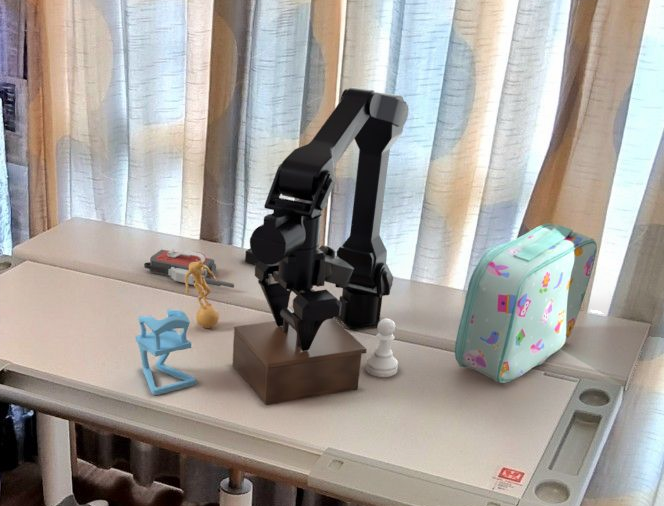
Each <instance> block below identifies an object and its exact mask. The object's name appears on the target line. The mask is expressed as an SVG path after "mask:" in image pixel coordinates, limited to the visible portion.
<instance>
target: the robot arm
mask: <svg viewBox="0 0 664 506" xmlns="http://www.w3.org/2000/svg"><path fill="white" fill-rule="evenodd" d="M408 117H409V105H408V103H407V101H405V99H404V97H403V96H402V95H401V94H395V93H393V94H392V93H386V92H378V91H375V90H374V89H368V88H361V87H353V86H352V87H349V88H345V89H343V91H342V94H341V96H340V100H339V103H338V104H337V105H336V106H335V108H334V109H333V110H332V112H331V114H329V116H328V117H327V119H325V121H324V123H323V124H322V126H321V127H320V128H319V130H318V131H317V133H316V134H315V136H313V138H312V139H311V141H309V143H307V144H305V145H302V146H300V147H297V148H295V149H293V150H292V151H291V152H290V153H289V154H288V156H286V157H285V158H284V160H282V162H281V163H280V164H279V165H278V167H277V170H276V173H275V175H274V178H273V180H272V183H271V186H270V189H269V191H268V194H267V197H266V200H265V203H264V205H263V206H264V207H263V208H264V209H266V210H271V211H273V212H272V213H270V214H267V215H265V216H263V224H261V225H259V226H257V227H256V228H255V229H254V230H253V232H252V233H251V236H250V238H249V249H250V248H251V251H252V253H253V255H254V256H255V257H256V258H257V259H258V260H259V262H258V263H257V264H256V265H255V264H254V277H255V278H256V279H257V283H258V285H259V287H260V288H261V291H262V293H263V295H264V297H265V300H266V302H267V305H268V307H269V309H270V312H271V314H272V317H273V319H274V321H275V322H276V324H277V326H283V318H282V317H281V315H280V312H281V310H282V309H283V308H289V303H290V297H291V293H292V292H293V293H294V295H296V296H295V297H294V298H293V299H292V309H293V310H292V311H293V313H292V317H293V320H294V324H295V328H296V332H297V336H298V340H299V343H300V347H301V350H302V351H307V350H309V349H310V346H311V344H312V342H313V340H314V338H315V336H316V334H317V332H318V330H319V328H320V326H321V324H322V323H323V322H324V321H325V320H327V319H332V318H333V319H334V318H337V319H338V320H339V321H341V322H342V323H343V324H344V325H345V326H346V327H348V328H349V329H350V330H352V331H353V330H360V329H369V328H373V327H377V326H378V323H379V322H380V321H381V320H382V319H381V313H382V312H381V311H382V304H383V296H385V297H386V296H390V294H391V290H392V287H393V283H394V282H393V281H394V276H393V274H392V272H391V270H390V267H389V266H388V264H387V256H388V250H387V248H386V245H385V244H384V242H383V239H382V237H381V236H380V233H381V232H380V231H381V223H382V215H383V207H384V200H385V191H386V184H387V176H388V175H387V174H388V168H389V160H390V152H391V148H392V147H393V146H394V144H395V143H396V142H397V141H398V139H399V138H400V137H401V135H402V134H403V131H404V126H405V125H406V122H407V120H408ZM353 141H355V143H356V145H357V148H358V158H357V168H356V169H357V170H356V177H355V178H356V179H355V188H354V195H353V196H354V197H353V205H352V214H351V222H350V223H351V224H350V231H349V232H350V233H349V236H348V237H347V239H346V240H345V241H344V242H343V244H342V245H341V246H339V248H337V250H335V249H333V248H332V247H331V246H329V245H325V244H322V245H321V246H320V239H321V238H320V237H321V227H322V215H323V210H324V209H325V208H326V207H327V206H328V203H327V202H328V199H329V197H330V195H331V194H332V191H333V188H334V186H335V182H336V171H335V168H336V166H337V164H338V162H339V161H340V159H341V158H342V157H343V155H344V154H345V153H346V151H347V149H349V147H350V145H351V144H352V143H353ZM281 195H282V196H283V197H288V198H292V199H287V198H282V197H280V196H281ZM293 199H298V200H293ZM325 283H329V284H333V285H334V287H335V288H337V289H342V291H341V292H342V293H341V295H340V296H339V299H338V298H337V297H336V296H334V294H333V293H331V292H330V291H329V290H328V289H319V290H314V289H313V287H324V286H325Z"/></svg>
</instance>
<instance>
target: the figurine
mask: <svg viewBox="0 0 664 506" xmlns="http://www.w3.org/2000/svg"><path fill="white" fill-rule="evenodd" d="M203 268H206V270H207V271H208V272H209V273H210V275H211V276H212V277H213V278H214V280H215V281H217V280H218V279H217V278H216V275H215V273H214V274H213V273H212V272H211V271H210V270H209V268H208V267H207V266H206V265H203V262H202V261H201V260H200V261H198V262H191V263H190V264H189V270H188V272H187V274H186V275H185V277H184V279H185V283H184V284H185V292H186V296H190V295H191V293H190V292H192V291H191V290H190V289H189V284H188V277H189V275H190V274H192V276H193V278H194V280H195V283H194V285H193V287H194V288H195V290H196V291H197V293H198V294H199V295H198V296H197V300H198V303H199V305H200V307H199V308H198V309H197V311H196V314H195V315H196V316H195V319H196V322H197V324H198V325H199V326H200V327H202V328H206V329H210V328H213V327H214V326H216V325H217V324H218V323H219V319H220V314H219V311H218V309H217V308H216V307H214V306H213V305H212V304H211V303H210V302H209V301H208V300H207V296H209V294H210V293H211V291H212V290H211V288H210V287H209V284H206V281H205V279H204V278H203V279H202V276H203ZM202 299H203V301H204V303H205V304H204V303H203V301H202Z"/></svg>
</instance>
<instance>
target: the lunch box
mask: <svg viewBox="0 0 664 506" xmlns="http://www.w3.org/2000/svg"><path fill="white" fill-rule="evenodd" d="M597 251H598V244H597V242H596V240H595V238H593V237H591V236H588V235H586V234H585V235H584V234H582V233H578V232H575V231H573V229H572V228H569V227H566V226H563V225H560V224H557V225H554V224H552V223H549V222H547V223H543V224H541V225H538V226H536V227H534V228H533V229H531V230H529V231H528V232H526V233H525V234H523V235H521V236H519V237H516V238H514V239H511V240H510V241H508V242H504V243H500V244H496V245H494V246H492V247H490V248H488V249H487V250H486V251H485V252H484V254H482V256H481V257H480V259H479V261H478V262H477V265H475V268H474V269H473V272H472V274H471V276H470V279H469V282H468V285H467V290H466V291H467V292H466V294H465V297H464V304H463V309H462V312H461V317H460V321H459V325H458V330H457V334H456V339H455V345H454V358H455V361H456V362H457V364H458V367H461V368H469V369H471V370H474V371H475V372H478V374H479V373H480V374H481V375H484V376H485V377H487V378H490V379H492V380H494V381H495V382H497V383H501V384H505V383H509V382H512V381H513V380H515V379H518V378H519V377H521V376H523V375H525V374H526V373H527V372H529V371H531V369H532V368H535V367H537V366H541V364H543V363H544V362H545V361H546V360H547V359H548V358H549V357H551V355H553V354H555V353H556V352H558V351H559V350H560V349H561V348H562V347H563V346H564V345H565V343H566V342H567V340H568V339H569V338H570V335H571V334H572V331H573V329H574V326H575V324H576V321H577V319H578V315H579V313H580V312H581V311H580V310H581V307H582V305H583V303H584V300H585V299H584V298H585V295H586V292H587V289H588V287H589V282H590V279H591V275H592V272H593V269H594V264H595V260H596V256H597Z"/></svg>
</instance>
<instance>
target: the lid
mask: <svg viewBox="0 0 664 506" xmlns="http://www.w3.org/2000/svg"><path fill="white" fill-rule="evenodd" d="M293 312H294V310H292V309H291V308H289V307H288V308H283V309H282V310H281V312H280V315H281V317H282V318H283V326H277V324H276V322H275V320H273V321H272V320H271V321H266V322H258V323H251V324H244V325H237V326H234V327H233V333H234V332H235V333H236V334H237V335H238V336H239V337H240V338H241V339H242V340H243V341H244V343H245V344H246V345H247V346H248V347H249V348H250V349H251V350H252V351H253V353H254V354H255V355H256V356H257V357H258V358H259V359H260V360H261V361H262V362H263V364H264V365H265V366H266V367H267V368H272V367H279V366H285V365H292V364H298V363H305V362H312V361H318V360H325V359H331V358H338V357H344V356H351V355H357V354H362V355H363V354H367V350H368V349H367V348H366V346H364V345H363V344H362V343H361V342H360V341H359V340H358V339H357V338H356V337H355V336H353V335H352V334H351V333H350V332H349V331H347V330H346V329H345V328H344V327H343V326H342V325H340V323H339V322H338V321H337V320H335V319H334V318H332V319H327V320H325V321H324V322H323V323H322V324H321V326H320V328H319V330H318V332H317V334H316V336H315V338H314V340H313V342H312V344H311V346H310V349H309V350H307V351H302V350H301V347H300V343H299V340H298V336H297V332H296V328H295V324H294V320H293V317H292V313H293Z"/></svg>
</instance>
